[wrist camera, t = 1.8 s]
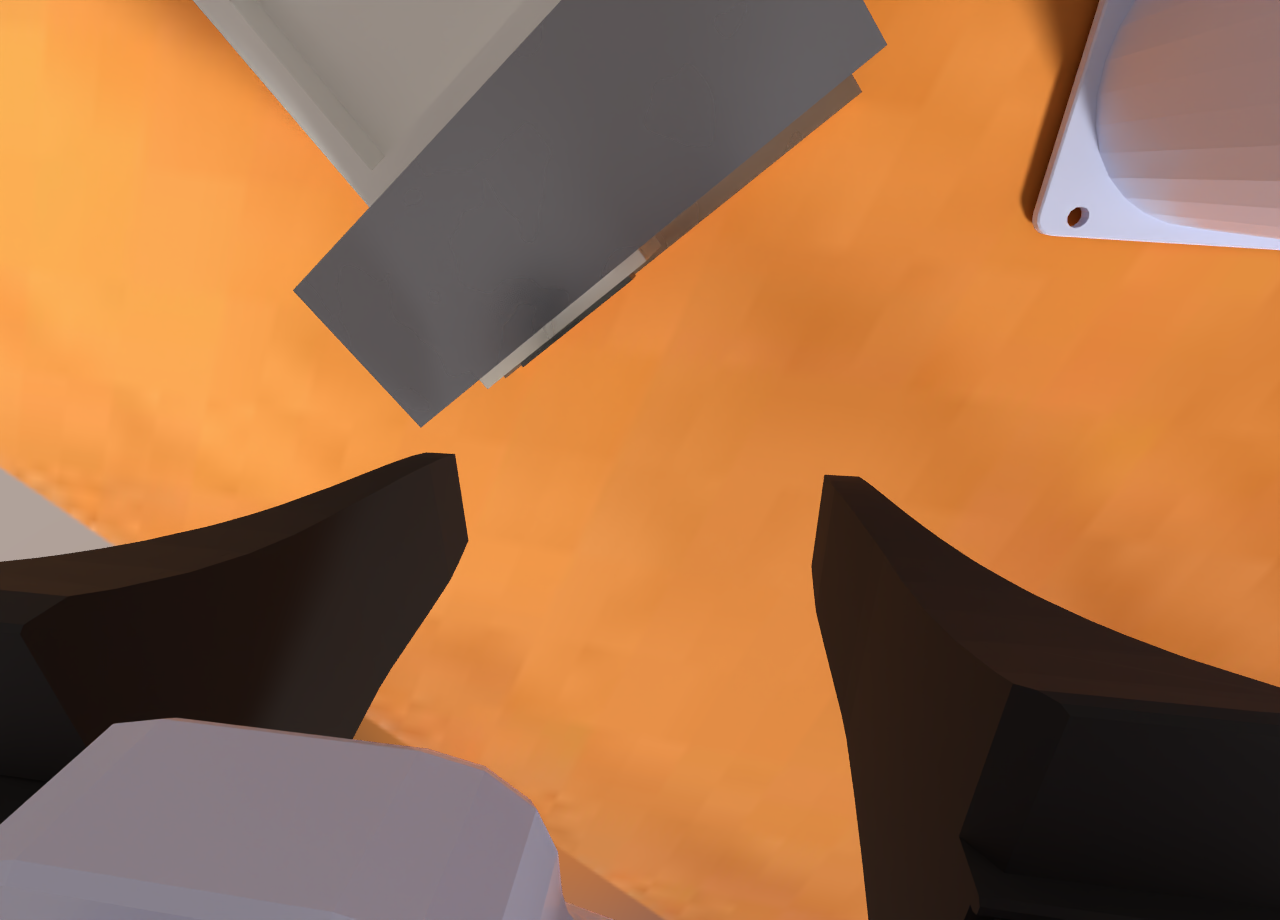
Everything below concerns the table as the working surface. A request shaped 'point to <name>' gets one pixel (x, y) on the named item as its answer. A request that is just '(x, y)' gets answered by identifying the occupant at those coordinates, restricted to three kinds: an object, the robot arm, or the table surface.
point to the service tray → (374, 69)
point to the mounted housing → (576, 179)
